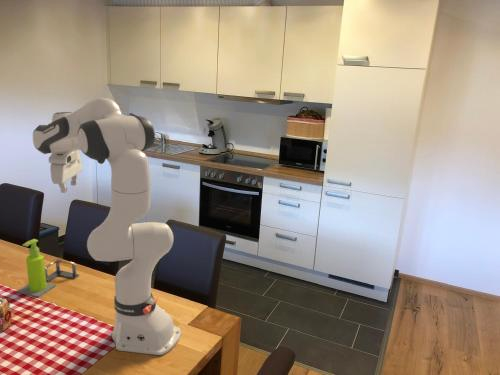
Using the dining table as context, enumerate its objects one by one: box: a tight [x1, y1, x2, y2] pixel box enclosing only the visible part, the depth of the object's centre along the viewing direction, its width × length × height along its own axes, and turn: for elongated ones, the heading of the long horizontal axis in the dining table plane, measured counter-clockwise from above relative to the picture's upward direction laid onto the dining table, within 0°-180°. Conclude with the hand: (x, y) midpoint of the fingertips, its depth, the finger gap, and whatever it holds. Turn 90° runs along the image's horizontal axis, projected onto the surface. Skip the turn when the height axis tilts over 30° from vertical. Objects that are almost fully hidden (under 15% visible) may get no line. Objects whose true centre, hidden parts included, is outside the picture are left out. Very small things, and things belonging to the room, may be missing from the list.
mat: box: [16, 282, 57, 299], centre depth 161 cm, size 10×9×1 cm
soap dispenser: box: [22, 238, 47, 292], centre depth 158 cm, size 6×7×20 cm
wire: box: [45, 259, 80, 283], centre depth 169 cm, size 10×9×6 cm
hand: (69, 188), depth 164 cm, fingers open, 8 cm apart
